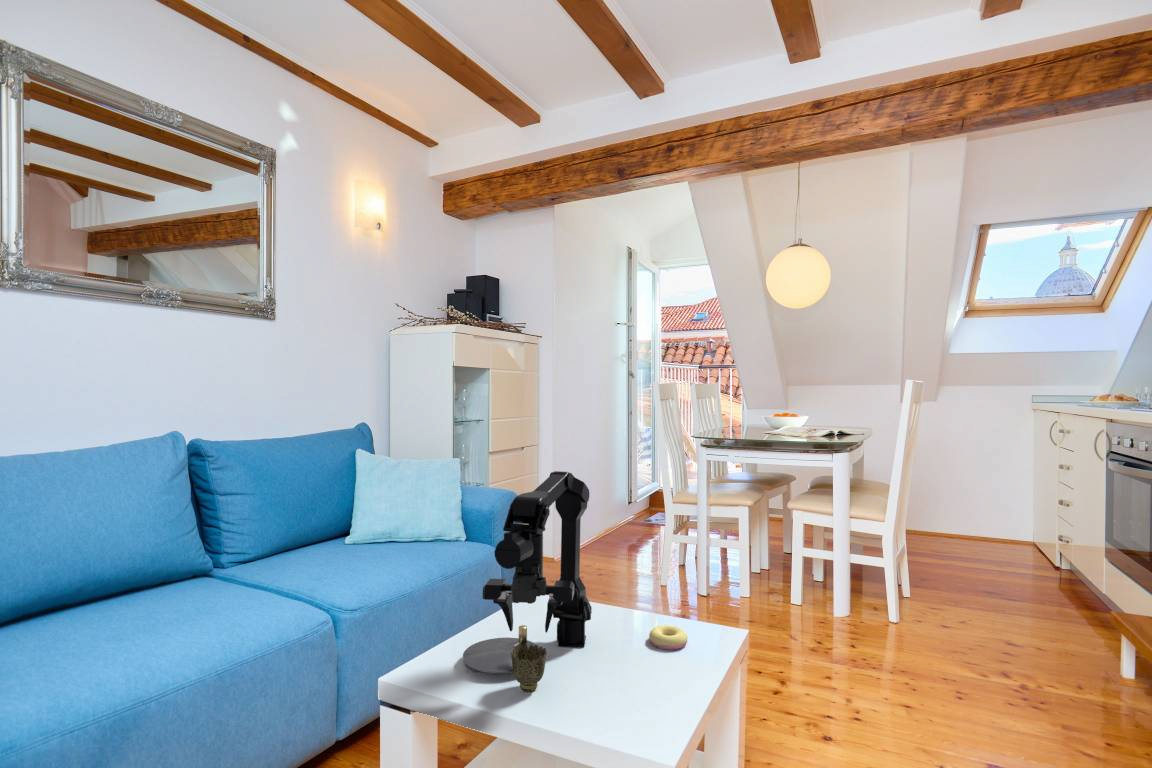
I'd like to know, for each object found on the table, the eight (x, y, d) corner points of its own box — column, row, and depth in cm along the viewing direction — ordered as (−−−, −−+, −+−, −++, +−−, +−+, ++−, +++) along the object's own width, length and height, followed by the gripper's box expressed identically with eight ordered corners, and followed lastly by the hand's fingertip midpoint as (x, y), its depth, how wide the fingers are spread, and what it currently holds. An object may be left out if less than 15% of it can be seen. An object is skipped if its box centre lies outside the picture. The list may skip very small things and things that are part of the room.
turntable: (556, 651, 141) (556, 632, 141) (509, 682, 126) (509, 661, 126) (496, 635, 151) (496, 618, 151) (446, 662, 135) (446, 642, 135)
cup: (541, 699, 121) (541, 659, 121) (506, 695, 123) (506, 656, 123) (550, 682, 129) (550, 644, 129) (517, 679, 130) (517, 642, 130)
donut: (653, 660, 145) (691, 654, 145) (651, 642, 145) (689, 636, 145) (648, 637, 155) (684, 632, 155) (646, 620, 155) (681, 615, 155)
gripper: (476, 565, 119) (475, 645, 119) (569, 568, 118) (569, 648, 117) (488, 551, 130) (488, 624, 130) (574, 553, 129) (574, 627, 128)
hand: (528, 631), depth 126 cm, fingers open, 7 cm apart
